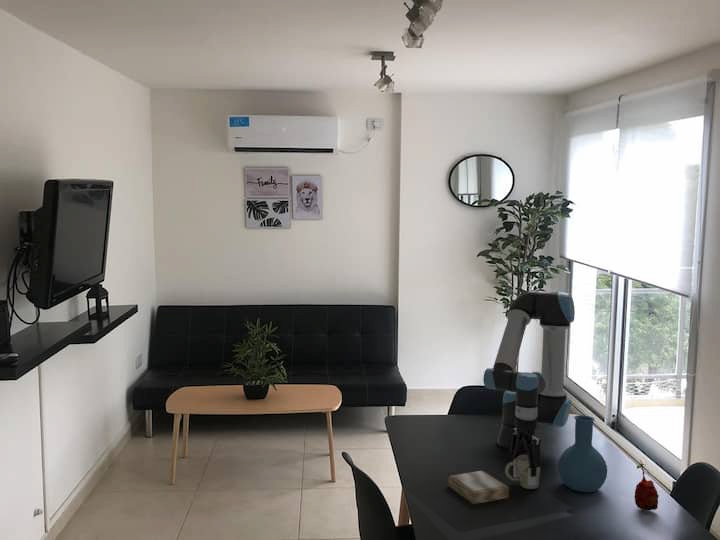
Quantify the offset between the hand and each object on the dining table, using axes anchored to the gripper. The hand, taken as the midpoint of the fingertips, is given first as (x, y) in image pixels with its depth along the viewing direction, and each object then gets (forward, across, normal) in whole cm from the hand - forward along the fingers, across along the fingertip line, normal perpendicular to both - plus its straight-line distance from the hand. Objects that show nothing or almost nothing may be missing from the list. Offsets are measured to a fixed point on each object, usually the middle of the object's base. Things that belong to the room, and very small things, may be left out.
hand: (524, 480), depth 231 cm
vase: (+2, +8, +19) cm, 21 cm away
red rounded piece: (+2, +29, +27) cm, 40 cm away
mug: (+2, 0, 0) cm, 2 cm away
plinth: (+2, -2, -18) cm, 18 cm away
